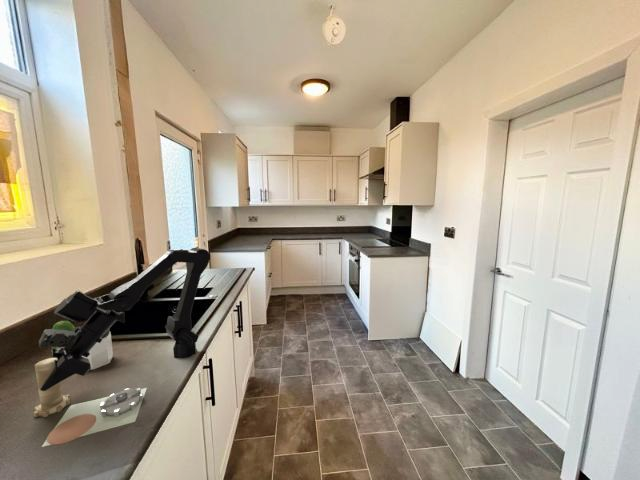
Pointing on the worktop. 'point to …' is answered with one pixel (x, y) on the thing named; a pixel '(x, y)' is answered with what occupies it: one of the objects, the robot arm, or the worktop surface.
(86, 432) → the board
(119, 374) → the worktop surface
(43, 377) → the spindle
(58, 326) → the avocado
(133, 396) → the gear
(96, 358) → the jar
